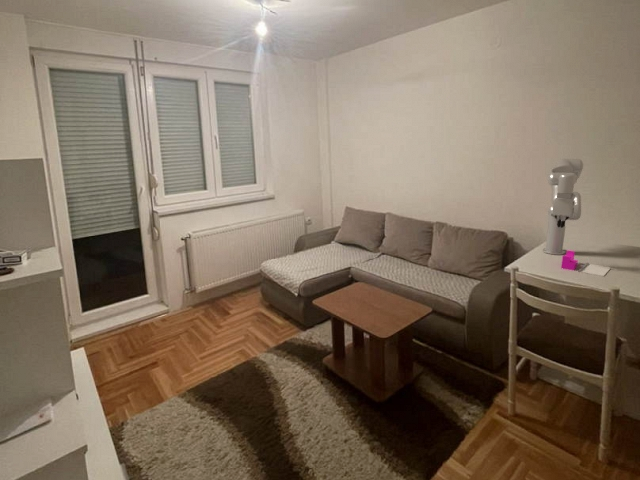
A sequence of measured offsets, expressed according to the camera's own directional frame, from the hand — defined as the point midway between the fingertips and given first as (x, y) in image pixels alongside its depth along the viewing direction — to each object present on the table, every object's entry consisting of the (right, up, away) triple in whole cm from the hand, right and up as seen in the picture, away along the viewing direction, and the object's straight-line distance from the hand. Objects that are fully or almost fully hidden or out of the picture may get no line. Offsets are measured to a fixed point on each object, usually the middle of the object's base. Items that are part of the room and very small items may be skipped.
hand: (560, 227), depth 220 cm
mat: (+14, -24, -8) cm, 29 cm away
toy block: (+5, -23, 0) cm, 24 cm away
